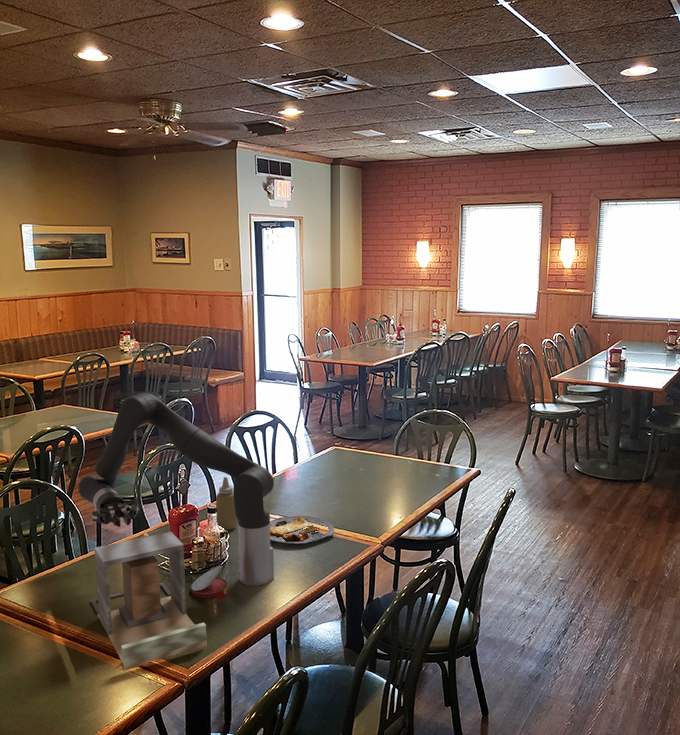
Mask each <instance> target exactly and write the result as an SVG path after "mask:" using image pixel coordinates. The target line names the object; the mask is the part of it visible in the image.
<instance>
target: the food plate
mask: <svg viewBox="0 0 680 735" xmlns="http://www.w3.org/2000/svg"><path fill="white" fill-rule="evenodd" d="M310 522H312V523H316V524H319V525H321V526H325V527H328V529H329V532H328V533H326V536H323V535H324V534H323V535H321V534H320V535H321V536H322V538H319V539H315V538H314V539H315V540H311V539H310V540H311V541H309V542H312V541H316V542H318V541H320V540H322V539H324V538H326V537H331V536H333V535H334V533H335V528H334V525H333V523H331V522H330V521H329V520H326V519H324V518H321V517H319V516H313V515H300V514H299V515H298V514H297V515H291V516H290V515H289V516H282V517H278V518H275V519H272V520H270V542H274V543H282V544H285V545H298V544H300V545H305V544H310V543H309V542H303V541H304V540H306V539H308V538H309V537H310V535H308V534H307V533H310V532H315V531H318V530H317V527H314V526H311V527H309V528H306V529H304V530H302V531H300V532H299V534H301V535H299V534H295V533H293V532H296V531H298V530H300V529H303V528H305V527H307V525H308V526H309V525H310V524H312V523H310ZM315 528H316V529H315ZM325 532H326V531H325ZM289 533H292V534H289ZM287 534H289V535H287ZM279 537H282V538H283V539H284V540H285V541H282V540H281V538H279ZM312 543H313V542H312Z"/></svg>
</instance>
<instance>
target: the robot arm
mask: <svg viewBox="0 0 680 735" xmlns="http://www.w3.org/2000/svg"><path fill="white" fill-rule="evenodd" d="M117 412H118V413H117V415H116V419H115V422H114V424H113V428H112V431H111V434H110V437H109V439H108V441H107V444H106V446H105V447H104V450H103V451H102V453H101V455H100V457H99V459H98V461H97V462H96V464H95V467H94V468H95V469H94V471H95V473H96V474H97V475H98V476H96V475H91V474H90V475H89V474H88V475H85V476H83V477H82V478H81V479H80V480H79V482H78V486H77V487H78V489H77V490H78V493H79V495H80V497H81V498H82V499H84V500H86V501H87V502H89V503H90V504H91V503H92V504H93V506H94V509H95V510H94V511H92V512H91V518H92V522H96V523H99V524H103V525H109V524H110V523H111V524H113V526H114V527H117V528H121V521H123V523H124V524H125V525H126V526H129V525H130V524H132V520H134V519H135V518H136V516H138V515H139V504H138V503H134V504H133V505H131V506H130V505H129V504H127V503H126V502H125V500H124V499H123V498H122V496H121V495H120V494H119V493H118V492H117V491H116V490H115V483H116V480H117V476H118V474H119V472H120V470H121V468H122V466H123V465H124V462H125V460H126V458H127V454H128V451H129V448H128V447H129V442H130V440H131V437H132V436H133V434H134V433H135V431H136V430H137V429H138V428H139V427H140V426H143V425H146V424H150V425H152V426H155V427H156V428H158V429H159V430H161V431H162V432H164V433H165V434H166V436H167V437H168V438H169V440H170V441H171V443H172V445H173V447H174V448H175V450H176V451H177V452H178V453H179V454H181V456H183V457H184V458H186V459H187V460H188V461H191V462H192V463H193V464H196V465H198V466H200V467H204V468H206V469H209V470H213V471H217V472H221V473H224V474H226V475H229V476H230V477H232V478H233V479H234V483H233V486H232V487H233V495H234V508H235V514H236V517H237V519H238V520H237V532H238V534H237V535H238V536H237V537H238V560H239V562H238V563H239V564H238V565H239V566H238V567H239V568H238V569H239V571H238V572H239V581H240V583H242V584H243V585H246V586H253V587H254V586H261V584H262V585H265V584H267V583H269V582H270V581H271V579H272V580H274V579H275V569H274V568H275V564H274V563H275V562H274V561H275V560H274V557H275V556H274V548H273V547H272V545H271V541H270V522H271V516H270V512H269V511H267V510H266V509H265V508H264V498H265V497H266V496H267V495H269V494H270V493H271V492H272V490H273V489H274V485H275V481H274V478H273V475H272V473H271V472H270V471H269V470H268V469H266V467H264V466H262V465H261V464H259V463H256V462H254V461H253V460H250V459H248V458H247V457H245V456H243V455H240V454H239V453H238V452H236V451H234V450H233V449H232V448H230V447H229V446H227V445H225V444H224V443H222V442H220V441H219V440H217V439H216V438H215V437H213V436H212V435H210V434H209V433H208V432H206V431H205V430H203V429H201V428H199V427H198V426H196V425H194V424H193V423H192V422H190V421H189V420H187V419H186V418H184V417H183V416H181V415H180V414H178V413H176V412H175V411H174V410H173V409H171V408H170V407H169V406H167V404H166V403H164V402H163V401H162V400H161V399H160V398H158V397H157V396H156V395H154V394H152V393H150V392H141V393H136V394H134V395H131V396H128V397H127V398H125V399H124V400H123V401H122V403H121V404H120V407H119V410H118V411H117Z"/></svg>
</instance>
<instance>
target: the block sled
mask: <svg viewBox="0 0 680 735" xmlns="http://www.w3.org/2000/svg"><path fill="white" fill-rule="evenodd" d="M159 566H160V565H159V561H158V560H157V558H156V557H155V555H154V556H150V557H145V558H141V559H136V560H132V561H127V562H123V563H121V569H122V585H123V587H122V588H123V592H124V596H123V600H124V601H123V603H124V605H121V606H119V607H118V609H119V613H120V615H121V616H122V618H123V620H124V622H125V623H126V625H127V627H128V628H129V627H133V626H136V625H140V624H144V623H147V622H151V621H155V620H159V619H162V618H166V617H167V611H166V610H165V609H164V607H163V606H162V604H161V602H160V598H161V590H160V589H161V587H160V583H161V582H160V571H159V570H160V568H159Z"/></svg>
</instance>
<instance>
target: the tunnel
mask: <svg viewBox="0 0 680 735" xmlns="http://www.w3.org/2000/svg"><path fill="white" fill-rule="evenodd" d="M184 553H185V552H184V543H182V541H180V539H179V538H178V537H177V536H176V535H175V534H174V533H173V531H168V532H163V533H158V534H154V535H149V536H144V537H139V538H134V539H131V540H125V541H120V542H115V543H111V544H106V545H101V546H96V547H94V559H95V576H96V578H95V579H96V589H97V598H95V599H90V603H91V605H92V607H93V609H94V612H96V615H97V617H98V618H99V620H100V622H101V625H102V626H103V628H104V630H105V632H106V634H107V635H108V637H109V640H110V642H111V643H112V646H114V650H115V651H116V653H117V654H118V655H117V656H118V657H119V659H120V660H121V663H122V665H121V668H122V670H123V671H124V672H125V671H128V670H131V669H135V668H137V667H140V666H144V665H147V664H150V663H149V662H150V661H153V660H157V659H160V658H165V657H168V656H172V657H174V656H173V655H175V656H177V655H176V654H178V655H182V654H184V652H185V653H188V651H189V652H191V650H192V651H194V650H195V651H196V650H198V648H199V649H202V648H204V646H205V647H207V646H208V642H207V641H208V639H207V624H206V623H205V622H201V623H200V622H199V623H197V624H195V623H194V622H193V621H192V619H191V618H190V617H189V616H188V614H187V597H186V596H187V594H186V578H185V577H186V576H185V574H186V572H185V554H184ZM161 554H168V567H169V568H168V570H169V587H168V586H167V585H166V584H165V583H164V582H159V583H160V588H162V590H163V591H164V593H166V595H167V596H165V597H160V602H161V604H162V606H163V607H164V609H165V610H166V611H167V617H166V618H162V619H159V620H155V621H151V622H147V623H144V624H140V625H136V626H133V627H129V628H128V627H127V625H126V623H125V622H124V620H123V618H122V616H121V615H120V613H119V608H117V609H114V610H112V604H111V600H112V599H115V598H119V597H124V591H122V592H118V593H114V594H111V592H110V590H111V589H110V576H109V566H113V565H117V564H122V563H123V562H127V561H132V560H136V559H141V558H145V557H150V556H154V557H155V556H157V555H161ZM201 647H202V648H201ZM181 653H182V654H181ZM168 658H169V657H168ZM165 659H166V658H165Z"/></svg>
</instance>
